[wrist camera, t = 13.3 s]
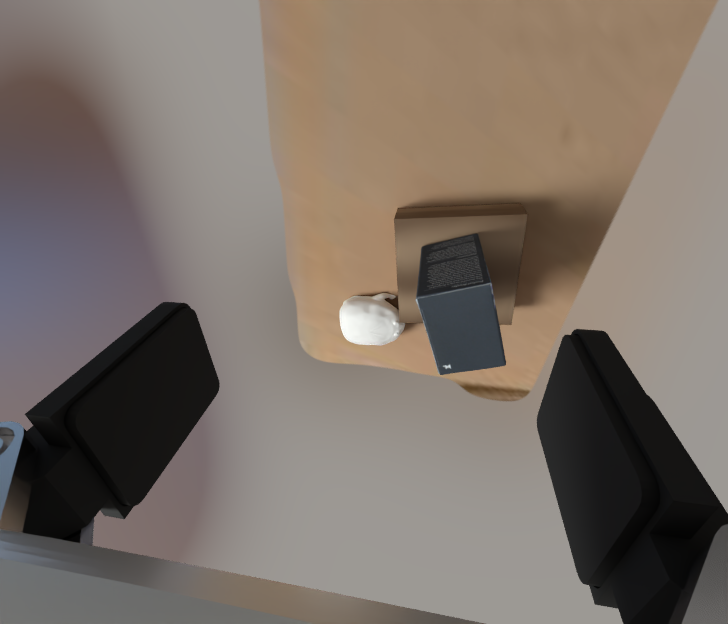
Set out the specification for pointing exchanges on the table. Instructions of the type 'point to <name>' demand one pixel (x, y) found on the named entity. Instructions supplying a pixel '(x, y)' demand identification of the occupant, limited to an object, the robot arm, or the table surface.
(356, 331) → the garlic
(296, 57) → the table surface
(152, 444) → the robot arm
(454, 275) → the box
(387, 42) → the table surface
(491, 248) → the walnut block
